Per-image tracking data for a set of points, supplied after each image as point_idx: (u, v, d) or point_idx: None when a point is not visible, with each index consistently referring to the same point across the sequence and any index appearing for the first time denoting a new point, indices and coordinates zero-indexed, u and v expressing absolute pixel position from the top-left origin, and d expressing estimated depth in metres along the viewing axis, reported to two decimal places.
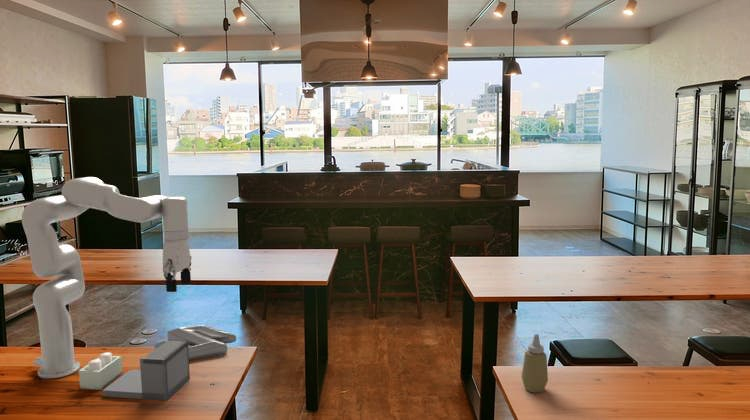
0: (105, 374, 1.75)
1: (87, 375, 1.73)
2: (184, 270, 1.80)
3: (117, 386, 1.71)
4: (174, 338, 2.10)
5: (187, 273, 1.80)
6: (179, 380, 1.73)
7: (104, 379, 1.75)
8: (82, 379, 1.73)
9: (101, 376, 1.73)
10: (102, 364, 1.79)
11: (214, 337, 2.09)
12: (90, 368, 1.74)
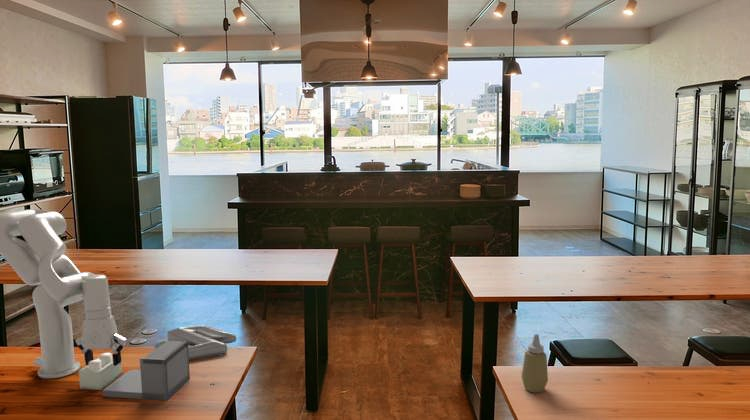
0: (105, 374, 1.75)
1: (87, 375, 1.73)
2: (88, 351, 1.78)
3: (117, 386, 1.71)
4: (174, 338, 2.10)
5: (91, 352, 1.79)
6: (179, 380, 1.73)
7: (104, 379, 1.75)
8: (82, 379, 1.73)
9: (101, 376, 1.73)
10: (102, 364, 1.79)
11: (214, 337, 2.09)
12: (90, 368, 1.74)
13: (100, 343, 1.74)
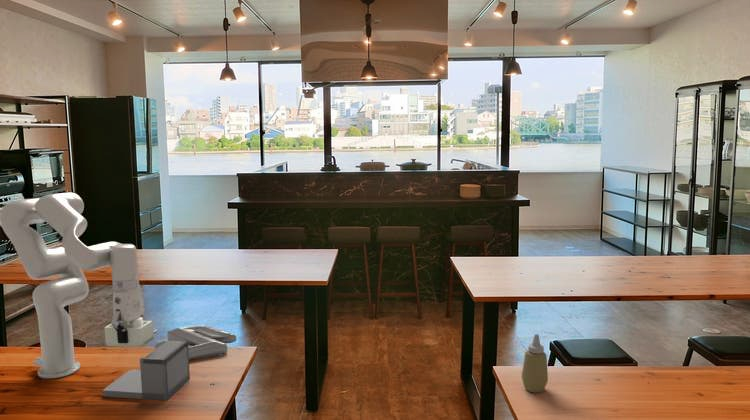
0: None
1: (145, 329, 1.71)
2: None
3: (117, 386, 1.71)
4: (174, 338, 2.10)
5: None
6: (179, 380, 1.73)
7: None
8: (142, 336, 1.69)
9: None
10: None
11: (214, 337, 2.09)
12: (140, 324, 1.71)
13: (139, 310, 1.73)
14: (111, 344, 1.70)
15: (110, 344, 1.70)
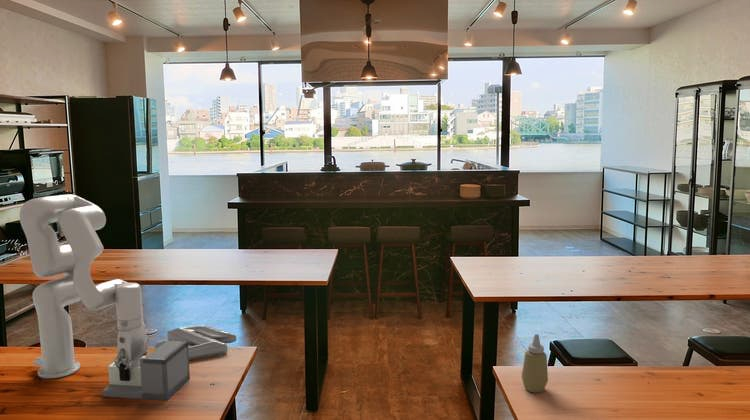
0: None
1: None
2: None
3: (117, 386, 1.71)
4: (174, 338, 2.10)
5: None
6: (179, 380, 1.73)
7: None
8: None
9: None
10: (129, 365, 1.74)
11: (214, 337, 2.09)
12: None
13: (143, 348, 1.74)
14: (115, 383, 1.72)
15: (114, 383, 1.72)
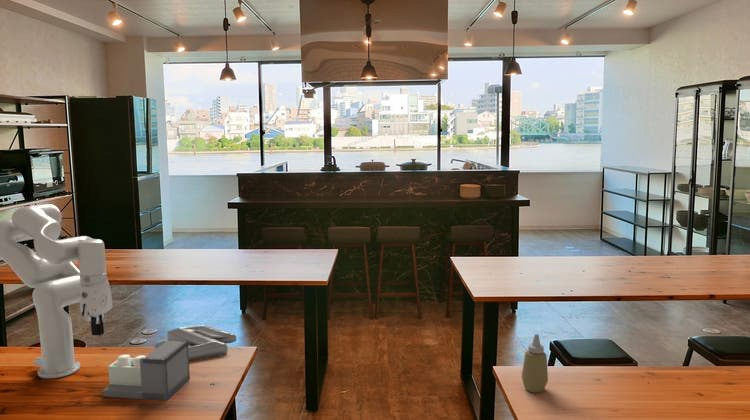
0: None
1: None
2: None
3: (117, 386, 1.71)
4: (174, 338, 2.10)
5: None
6: (179, 380, 1.73)
7: None
8: None
9: None
10: (129, 365, 1.74)
11: (214, 337, 2.10)
12: None
13: (107, 305, 1.74)
14: (115, 383, 1.72)
15: (114, 383, 1.72)
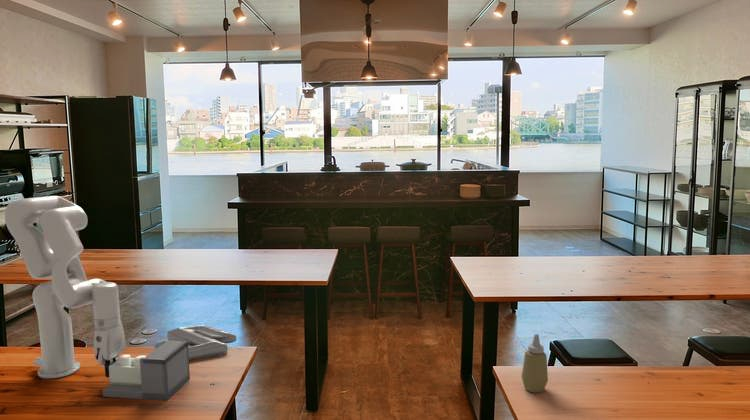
0: None
1: None
2: None
3: (117, 386, 1.71)
4: (174, 338, 2.10)
5: None
6: (179, 380, 1.73)
7: None
8: None
9: None
10: (129, 365, 1.74)
11: (214, 337, 2.10)
12: None
13: (120, 347, 1.75)
14: (115, 383, 1.72)
15: (114, 383, 1.72)
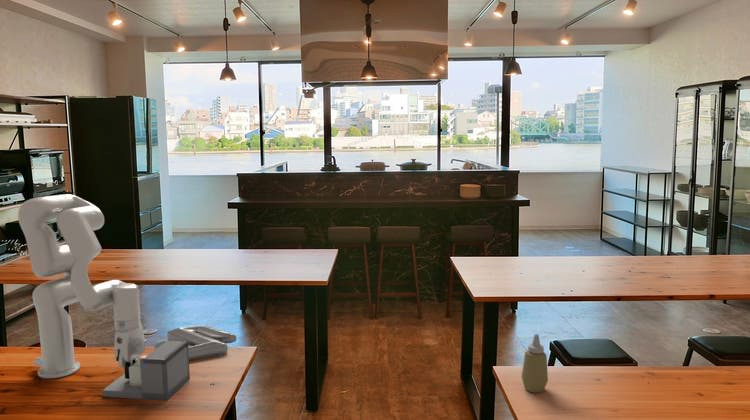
0: None
1: None
2: None
3: (117, 386, 1.71)
4: (174, 338, 2.10)
5: None
6: (179, 380, 1.73)
7: None
8: None
9: None
10: None
11: (214, 337, 2.10)
12: None
13: (140, 348, 1.75)
14: (135, 384, 1.71)
15: (134, 384, 1.71)
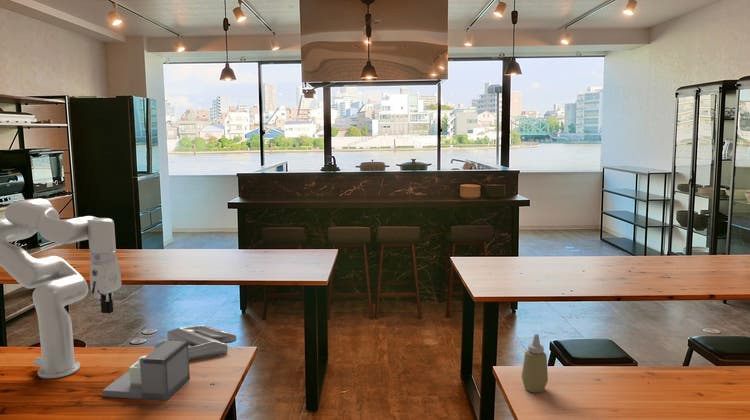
0: None
1: None
2: None
3: (117, 386, 1.71)
4: (174, 338, 2.10)
5: None
6: (179, 380, 1.73)
7: None
8: None
9: None
10: None
11: (214, 337, 2.10)
12: None
13: (116, 283, 1.76)
14: (136, 384, 1.71)
15: (135, 384, 1.71)
